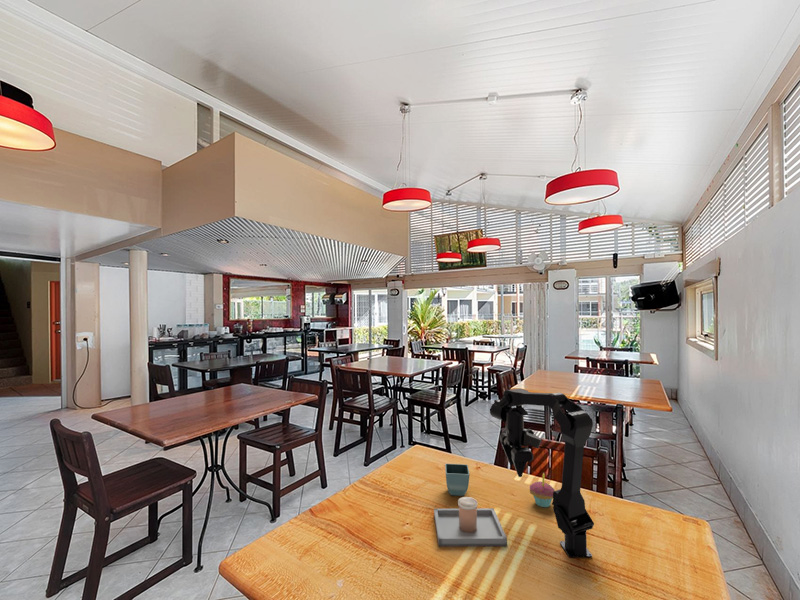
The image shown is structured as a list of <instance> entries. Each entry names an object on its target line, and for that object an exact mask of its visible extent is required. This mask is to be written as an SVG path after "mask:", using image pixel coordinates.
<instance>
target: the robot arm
mask: <svg viewBox="0 0 800 600" xmlns="http://www.w3.org/2000/svg"><path fill="white" fill-rule="evenodd" d="M525 405H528V406H541V407H542V406H543V407H549V408H550V409H551V412H552V416H553V418H554V419H555V421H556V422H557V423H558V424H559V426H560V428H559V429H560V435H561V436H562V437H563V440H564V452H563V466H562V475H561V488H560V489H557V490H554V492H553V499H552V501H551V505H552V506H553V507H552V509H553V513H554V516H555V521H556V523H557V528H558V529H559V530H561V534H563V535H564V540H560V541H559V545H561V546H560V547H562V549H563V550H564V552H565V553H566V554H567V556H568V558H572V559H573V558H576V559H579V558H593V554H592V553H591V552H590V550H589V549H588V548H587V546H588V545H587V542H588V541H587V531H589V530H593V528H594V526H595V522H594V521H593V520H592V517H591V516H590V514H589V512H588V510H587V509H586V501H585V499H584V497H583V495H582V493H581V487H582V474H583V461H584V449H585V444H586V442H587V441H588V439H589V438H590V436H591V433H592V430H593V426H594V421H593V418H592V417H591V416H590V415H589V414H588V412H587V411H585V410H584V409H583V408H582V407H581V406H580V405H579V404H577V403H576V402H574V401H572V400H571V399H569V397H568V396H566V395H565V394H564V393H562V392H534V391H533V392H531V391H529V390H527V389H524V388H514V389H506V390H504V392H503V395H502V396H501V398H500V399H494V400H493V403H492V404H491V406H490V408H489V414H490V416H491V417H493V419H497V420H499V421H501V422H504V423H506V425H505V426H504V430H505V431H506V432H501V434H499V441H500V444H501V446H502V449H503V450H504V453H505V456H506V458H507V461H508V463H509V465H510V466H514V468H515V471H516V474H517V477H518V478H522V477H523V474H524V471H525V467H526V465H527V464H528V463H530V462H532V461H533V460H534V453H533V452H532V451H531V450H530V448H528V446H531V447H534V448H535V449H539V448H540V445H541V443H542V438H540V437H539V436H538V435H536V434H534V430H532V429H531V428H527V429H525V427H524V424H525V423H524V419H525V416H528V415H529V413H528V411H527V410H526V409H525V408H524V406H525ZM520 406H523V407H520ZM562 409H563V410H566V411H567V413H565V412H564V411H563V410H562Z"/></svg>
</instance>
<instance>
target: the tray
mask: <svg viewBox="0 0 800 600" xmlns="http://www.w3.org/2000/svg"><path fill="white" fill-rule="evenodd" d="M433 509H434V510H433V515H434V517H433V518H434V523H435V530H436V536H437V543H438V544H437V545H438V547H508V537H507V535H506V533H505V531H504V529H503V526H502V524H501V522H500V520H499V517H498V515H497V513H496V511H495V509H494V508H487V507H486V508H485V507H484V508H483V507H482V508H481V507H480V508H478V507H477V531H476V532H474V533H465V532H463V531H461V530H460V528H459V508H433Z"/></svg>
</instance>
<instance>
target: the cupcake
mask: <svg viewBox="0 0 800 600" xmlns="http://www.w3.org/2000/svg"><path fill="white" fill-rule="evenodd" d="M545 478H546V477H545V472H543V473H542V479H541V480H542V481H536V482H533V483H532V484H530V485H529V493H530V494H531V495H532V496H533V499H534V502H535V504H536V505H537V506H539V507H542V508H549V507H550V506H551V504H552V502H553V492H554V491H555V488H554V487H553V486H552V485H551V484H549V483H547V482H545Z"/></svg>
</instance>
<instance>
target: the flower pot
mask: <svg viewBox="0 0 800 600" xmlns="http://www.w3.org/2000/svg"><path fill="white" fill-rule="evenodd" d="M444 467H445V468H444V469H445V470H444V471H445V481H446V482H445V483H446V487H447V491H448V493H449V496H458V497H459V496H460V497H461V496H462V497H465V495H466V493H467V491H468V489H469V484H470V477H471V476H470V473H471V472H470V470H469V466H468V464H463V463H462V464H460V463H445V464H444Z"/></svg>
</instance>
